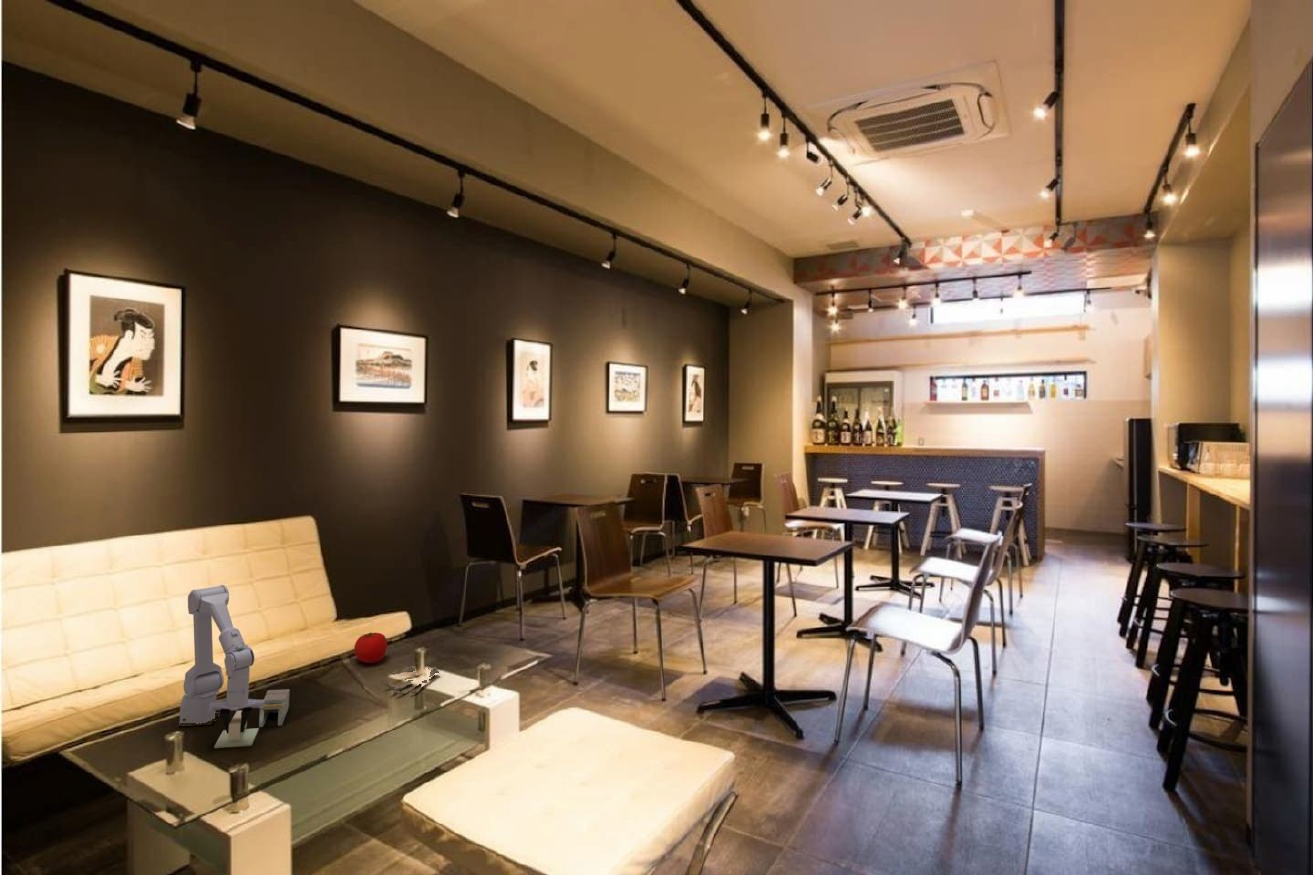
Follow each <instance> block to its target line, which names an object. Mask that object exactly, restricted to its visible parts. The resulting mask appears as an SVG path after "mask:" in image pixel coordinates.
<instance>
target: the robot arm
mask: <svg viewBox="0 0 1313 875" xmlns="http://www.w3.org/2000/svg"><path fill="white" fill-rule="evenodd" d="M229 600H230V592H229V589H228V588H227V586H226V585H224V584H221V585H217V586H211V587H206V588H205V587H204V588H200V589H199V588H198V589H193V590H191V591H190V592H189V594H188V595H187V611H188V614H189V615H192V617H193V619H192V620H193V641H194V644H193V645H194V664H193V666H192V667H191V668H190V669H188V670H187V671H186V672H184V673H185V674H184V682H183V690H184V695H183V696H182V698H181V702H180V705H179V706H180V708H179V724H180V723H196V724H199V723H200V724H201V723H206V722H208V721H211V720H212V719H214V718H215V713H217V712H216V711H220V712H219V717H220V718H221V720H222V722H223V723H224V727H225V730H226V731H227V734H228V732H229V723H230V721H231V720H232V715H233V711H239V710H241V709H242V710H241V711H242V712H241V730H240V731H241V733H243V732H244V730H245V729H246V728H245V725H246V722H247V723H248V718H249V716H250V714H251V712H252V710H253V709H256V708H257V709H259V710H260V709H261V708H263V707H264V699H254V698H249V686H250V668H251V667H252V666H253V665H254V662H255V654H254V650H253V648H251V647H250V646H249V644H246V643H245V641H244V638H243V637H242V634H241V631H240V629H238V628H236V627H234V626H233V622H232V619H231V618H232V617H231V616H230V613H229V609H228V604H229ZM212 620H213V621H214V624H215V625H216V628H218V630H219V632H220V634H219V636H218V641H219V643H220V646H221V648H222V650H223V653H224V655H225V657H224V660H223V661H224V663H223V664H224V667H225V675H226V676H227V685H226V699H225V700H221V701H217V694H218V693H220V690H221V689H222V687H223V685H224V682H225V679H224V674H223V671H222V666H220V665H219V664H217V663H214V650H213V648H214V646H213V624H212V623H213V622H212ZM183 719H186V720H183Z"/></svg>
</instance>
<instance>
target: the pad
mask: <svg viewBox="0 0 1313 875" xmlns="http://www.w3.org/2000/svg"><path fill="white" fill-rule="evenodd" d="M259 730H260V727H257V728H254V727H253V728H245V730H244V732H243V733H242V735H241V737H240V739H238V740H228V734H227V731H226V729H224V730H223V729H222V732H221V734H219V737H218V739H217V741H216V743H214V744H215V745H214V747H213V748H214V749H220V748H221V749H222V748H223V749H224V748H239V747H251V746H253V744H254V741H255V739H256V737H257V735H258V732H259Z"/></svg>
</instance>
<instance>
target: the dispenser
mask: <svg viewBox="0 0 1313 875" xmlns="http://www.w3.org/2000/svg"><path fill="white" fill-rule="evenodd" d="M290 690H291V689H288V688H287V689H269V690H267V691H266V694H265V696H264V698H263V700H264V707H263V708H261V709H259V717H258V718H259V721H258V728H264V726H265V724H266V721H267V720H268V717H269V714H272V713H278V716H277V726H278V727H281V726H283V723H284V721H285V718H286V717H287V713H288V712H289V709H290V708H289V706H290Z"/></svg>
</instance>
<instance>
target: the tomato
mask: <svg viewBox="0 0 1313 875" xmlns="http://www.w3.org/2000/svg"><path fill="white" fill-rule="evenodd" d="M360 635H361V636H359V638H357V639H356V641H355V644H354V646H353V650H354V655H355V657H356V658H357V659H358V660H359V661H361V662H363V663H366V664H367V663H368V664H370V663H371V664H373V663H375V664H376V663H378V662H380V661H381V660H382V659H383V658H384V656H385V655H386V652H387V649H388V642H387V639H386V636H385V634H383V633H380V632H371V631H370V632H369V633H364V634H361V633H360Z"/></svg>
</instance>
